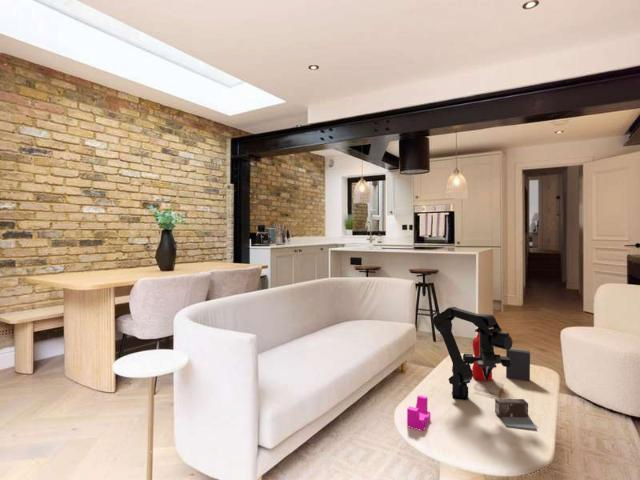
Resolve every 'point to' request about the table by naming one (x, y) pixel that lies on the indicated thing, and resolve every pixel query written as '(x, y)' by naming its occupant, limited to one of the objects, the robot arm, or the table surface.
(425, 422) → the toy block
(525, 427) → the mat
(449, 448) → the table surface
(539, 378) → the table surface
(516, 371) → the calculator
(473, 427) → the table surface
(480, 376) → the water bottle
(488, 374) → the robot arm
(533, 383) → the table surface
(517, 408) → the box
